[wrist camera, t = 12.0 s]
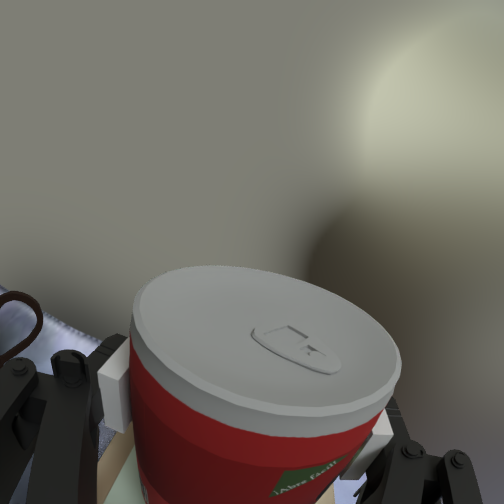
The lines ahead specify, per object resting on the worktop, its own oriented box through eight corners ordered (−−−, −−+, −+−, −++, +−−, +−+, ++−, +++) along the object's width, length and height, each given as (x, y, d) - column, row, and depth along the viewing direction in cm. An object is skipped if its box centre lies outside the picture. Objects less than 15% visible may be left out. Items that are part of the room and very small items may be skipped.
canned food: (245, 584, 6) (377, 478, 3) (108, 487, 10) (72, 289, 7) (318, 484, 13) (412, 319, 10) (203, 421, 16) (233, 252, 13)
